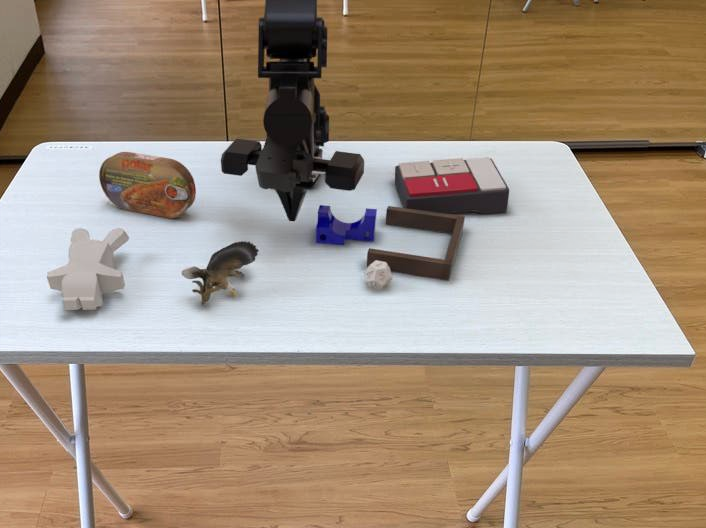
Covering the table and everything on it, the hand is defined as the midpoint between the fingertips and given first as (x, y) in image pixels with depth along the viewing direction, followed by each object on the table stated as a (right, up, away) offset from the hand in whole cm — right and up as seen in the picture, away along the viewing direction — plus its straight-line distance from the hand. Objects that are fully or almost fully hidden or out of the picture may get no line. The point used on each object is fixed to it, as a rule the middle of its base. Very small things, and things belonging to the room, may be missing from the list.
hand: (292, 220), depth 110 cm
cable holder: (+7, -3, -1) cm, 8 cm away
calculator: (+24, +5, +8) cm, 26 cm away
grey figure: (-26, -10, -8) cm, 29 cm away
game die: (+11, -10, -9) cm, 18 cm away
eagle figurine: (-9, -11, -10) cm, 18 cm away
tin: (-21, +3, +6) cm, 22 cm away
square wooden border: (+16, -5, -3) cm, 17 cm away
